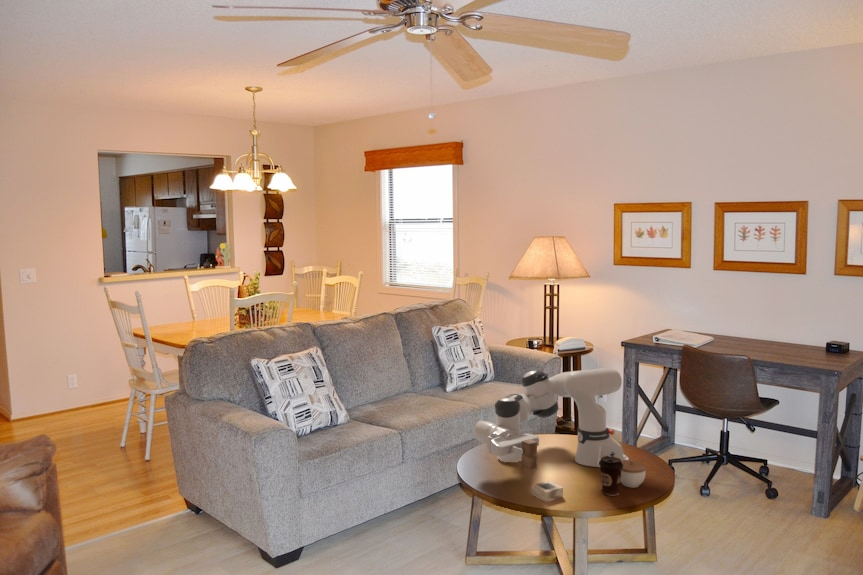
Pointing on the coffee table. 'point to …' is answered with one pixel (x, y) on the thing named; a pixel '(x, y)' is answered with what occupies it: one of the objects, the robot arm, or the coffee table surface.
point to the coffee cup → (610, 475)
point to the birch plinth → (547, 491)
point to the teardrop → (511, 457)
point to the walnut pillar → (529, 454)
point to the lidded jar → (632, 473)
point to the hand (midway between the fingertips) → (529, 450)
